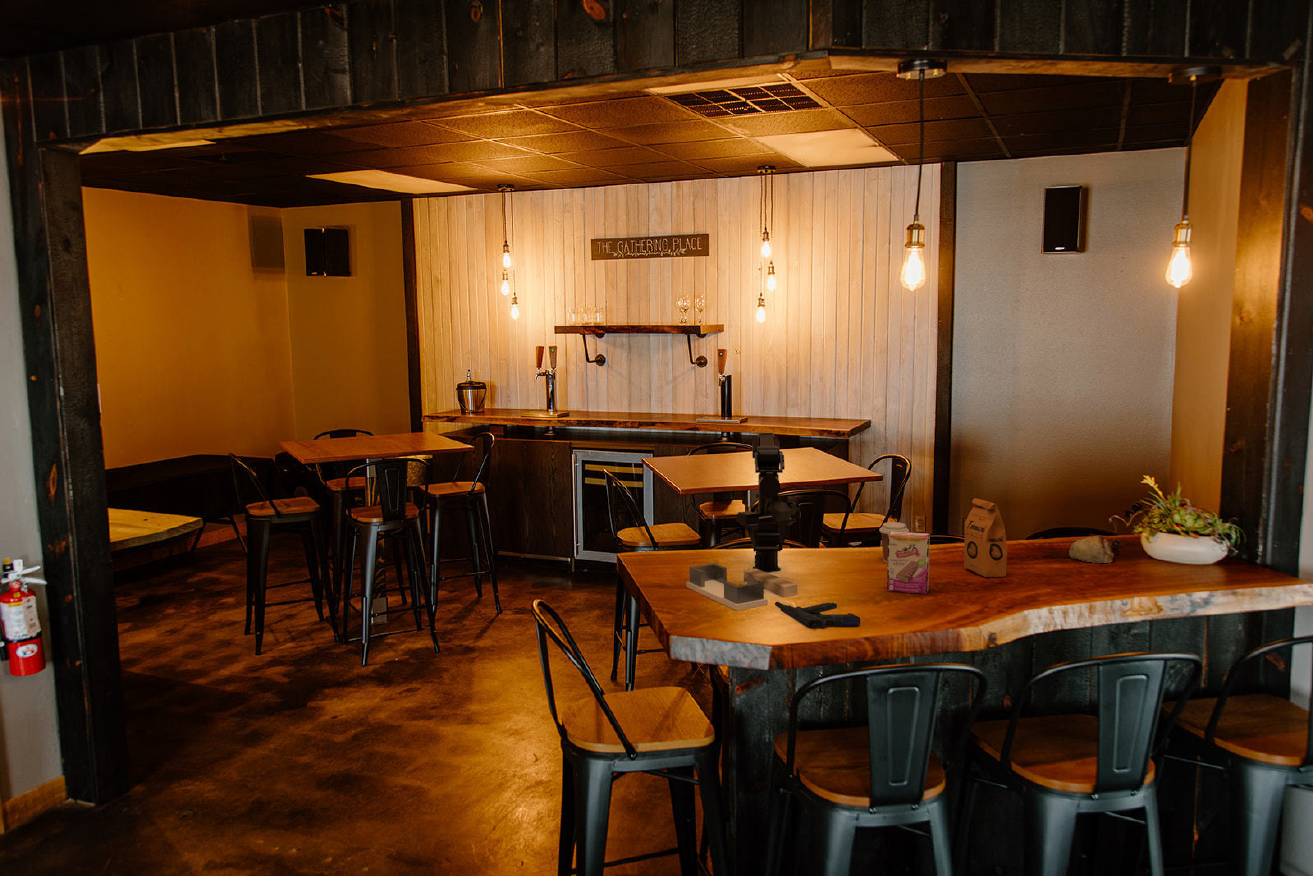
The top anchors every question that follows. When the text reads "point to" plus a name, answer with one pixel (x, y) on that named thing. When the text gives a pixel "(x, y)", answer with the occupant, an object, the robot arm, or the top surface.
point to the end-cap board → (716, 593)
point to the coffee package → (985, 540)
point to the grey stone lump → (1092, 550)
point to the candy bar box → (908, 562)
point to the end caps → (727, 583)
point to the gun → (820, 615)
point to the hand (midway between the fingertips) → (768, 545)
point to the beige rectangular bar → (772, 583)
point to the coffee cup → (885, 532)
